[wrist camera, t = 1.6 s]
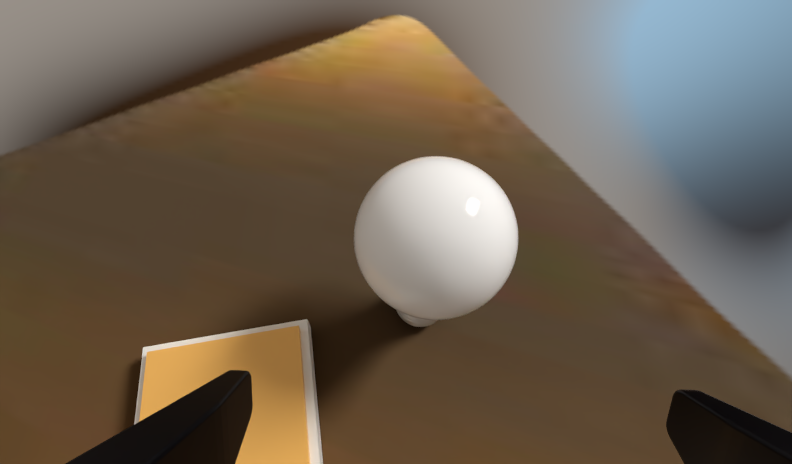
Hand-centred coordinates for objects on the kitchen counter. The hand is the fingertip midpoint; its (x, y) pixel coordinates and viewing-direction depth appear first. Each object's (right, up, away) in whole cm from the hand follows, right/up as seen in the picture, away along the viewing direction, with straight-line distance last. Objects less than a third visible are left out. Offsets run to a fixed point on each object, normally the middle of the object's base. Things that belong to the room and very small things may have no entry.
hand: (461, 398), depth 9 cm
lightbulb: (0, -1, +14) cm, 14 cm away
